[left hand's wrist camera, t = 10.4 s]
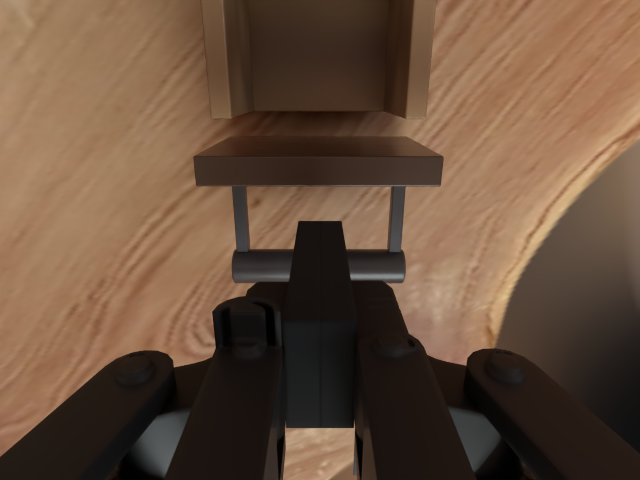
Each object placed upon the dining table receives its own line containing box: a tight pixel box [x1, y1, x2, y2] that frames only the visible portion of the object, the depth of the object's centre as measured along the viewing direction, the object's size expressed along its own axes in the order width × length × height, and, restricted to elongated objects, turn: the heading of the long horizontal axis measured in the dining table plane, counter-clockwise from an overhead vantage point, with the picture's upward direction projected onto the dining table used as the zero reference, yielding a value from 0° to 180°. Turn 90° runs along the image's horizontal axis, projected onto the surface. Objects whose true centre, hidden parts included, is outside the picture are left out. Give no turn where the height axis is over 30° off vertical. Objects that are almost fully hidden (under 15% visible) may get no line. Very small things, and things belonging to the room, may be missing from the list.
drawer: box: [193, 0, 444, 283], centre depth 17 cm, size 25×10×7 cm, turn 0°
